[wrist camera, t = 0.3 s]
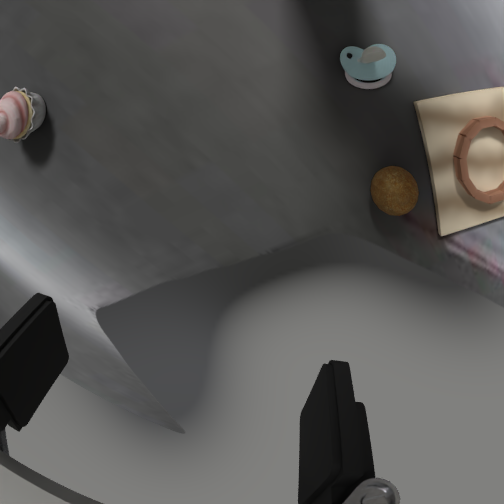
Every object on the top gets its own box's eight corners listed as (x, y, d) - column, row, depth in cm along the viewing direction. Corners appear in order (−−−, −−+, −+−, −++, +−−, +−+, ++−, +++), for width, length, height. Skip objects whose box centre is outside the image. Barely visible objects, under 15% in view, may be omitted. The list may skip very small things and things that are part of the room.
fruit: (386, 212, 43) (404, 234, 36) (355, 185, 42) (368, 203, 35) (414, 180, 40) (437, 197, 33) (383, 151, 39) (402, 162, 32)
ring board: (413, 101, 36) (422, 102, 33) (515, 85, 31) (527, 86, 28) (438, 233, 43) (446, 241, 40) (529, 203, 38) (540, 209, 36)
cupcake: (53, 80, 38) (11, 83, 29) (53, 135, 42) (12, 148, 34) (17, 88, 39) (-24, 94, 30) (17, 139, 43) (-22, 152, 34)
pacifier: (396, 86, 35) (386, 44, 33) (413, 86, 30) (402, 38, 27) (344, 92, 37) (334, 49, 34) (354, 92, 31) (342, 42, 29)
